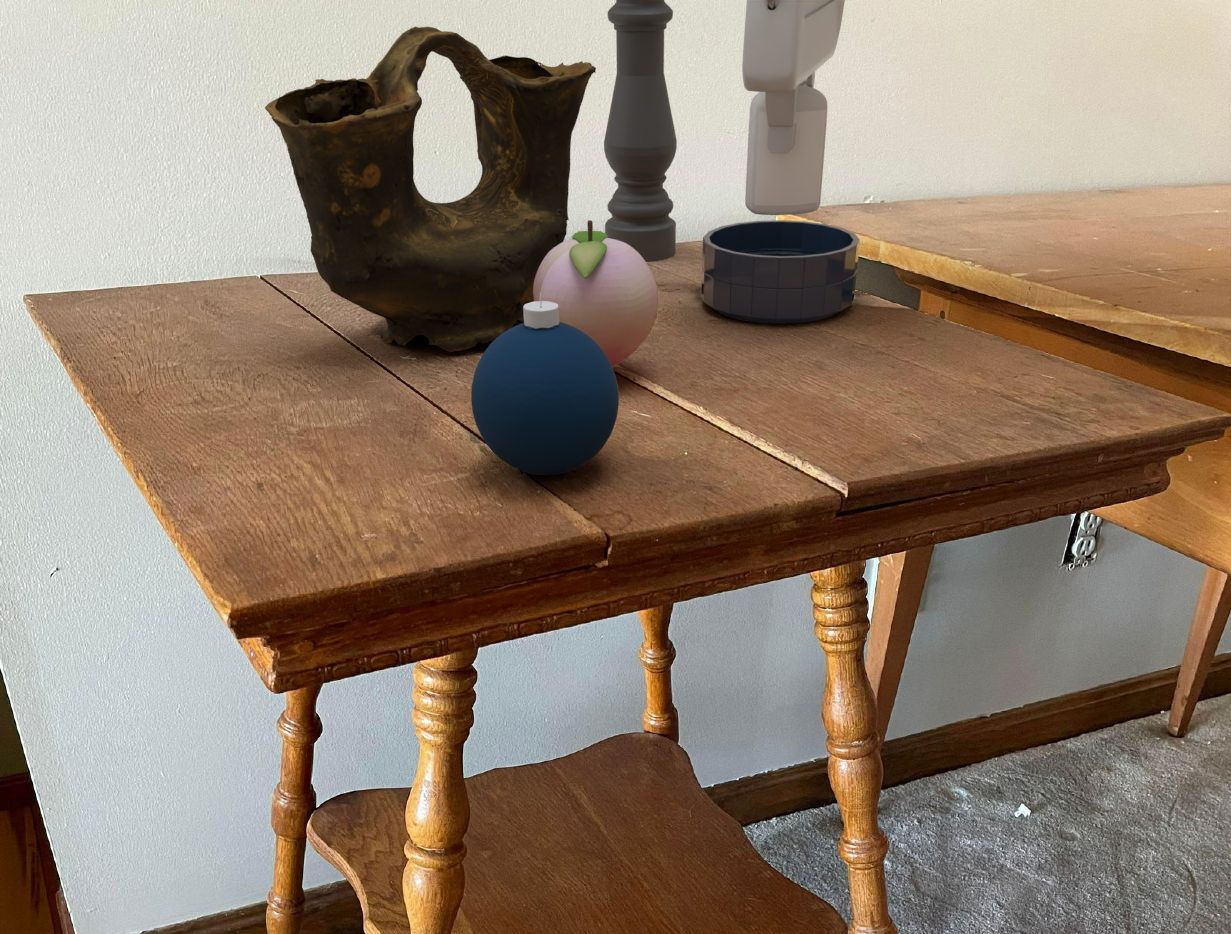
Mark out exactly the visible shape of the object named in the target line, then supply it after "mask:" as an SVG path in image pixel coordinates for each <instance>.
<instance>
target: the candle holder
mask: <svg viewBox="0 0 1231 934" xmlns="http://www.w3.org/2000/svg"><path fill="white" fill-rule="evenodd" d="M673 16H674V10H673V9H672V7H670V6H669V4H667V3H666V1H665V0H615V3H614V5H612V6H611V7H610V8H609V9H608V11H607V20H608V21H609V22H610V23H611V24H613V29H614V30H615V33H616V35H615V37H616V38H615V39H616V41H615V42H616V44H615V45H616V75H615V80H614V87H613V91H612V98H611V103H610V108H609V113H608V118H607V124H606V128H605V133H604V134H605V135H604V139H603V151H604V156H605V159H606V161H607V163H608V166H609V167H610V168H611V170H612V172H614V174H615V176H614V179H613V180H614V182H615V183H616V184H617V188H616V190H615V191H614V193H613V194H612V198H610V200H609V201H608V203H607V211H608V212H609V214H611V217H610V218H609V219H607V220H606V221H605V223H604V233H605V234H606V235H607V236H608V237H607V238H610V239H615V240H618V241H621V242H624V243H626V244H628V245H629V246H631V247H632V248H634V249H635V250H636V251H637V252H638V253H639V254H640V255H641V256H642V258H643V259H644V260H645V261H646V263H649V262H651V263H652V262H659V261H664V260H668V259H670V258H672V257H675V254H676V250H677V249H676V248H677V247H676V246H677V240H676V239H677V221H675V220H674V219H673V218H672V217H670V216H669V214H671V213H672V211H673V209H674V202H673V200H672V199H671V198H670V197H669V193H668V192H667V190H666V189H665V188H664V183H665V182H666V180H667V175H666V173H667V171H668V170H669V168H670V167H671V165H672V163H673V161H674V159H675V157H676V153H677V149H678V147H677V146H678V144H677V143H678V139H677V135H676V129H675V124H674V119H673V114H672V109H671V104H670V97H669V92H668V88H667V82H666V76H665V30H666V29H667V26H668V25H667V24H668V23H669V22H671V21H672V20H673Z"/></svg>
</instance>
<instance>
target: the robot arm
mask: <svg viewBox="0 0 1231 934" xmlns="http://www.w3.org/2000/svg"><path fill="white" fill-rule="evenodd" d="M845 2H846V0H746V8H745V17H744V19H745V20H744V32H743V45H742V46H743V47H742V49H743V50H742V62H741V63H742V64H741V69H742V71H741V72H742V82H743V86H744V89H745V90H746V91H747V92H757V93H759V92H766V94H765V104H766V112H767V120H768V144H767V147H768V150H769V151H770V152H771V153H781V154H786V153H789V152H790V151H791V149H792V148H793V147H794V145H795V134H796V123H795V113H796V99H797V98H798V86H799V85H800V84H801V83H802V82H803V81H804V80H806V79H807V81H805V82H803V83H805V84H806V85H807V86H809V87H812V88H814V87H815V80H816V71H817V70H818V69H819V68H821V67H822V66H823V65H824V64H825V63H826V62H828V61H829V60H830V59H831V58H832V57H833V56H834V54H835V52H836V48H837V45H838V42H839V36H840V31H841V26H842V20H843V14H844V10H845V9H844V8H845Z"/></svg>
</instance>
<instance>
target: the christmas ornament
mask: <svg viewBox="0 0 1231 934" xmlns="http://www.w3.org/2000/svg"><path fill="white" fill-rule="evenodd" d="M523 312H524V318H523V323H519V324H516V325H515V326H514V325H513V326H512V327H511V328H510V329H509V330H507V331H505V332H504V333H503V334H501V335H500V336H499V337H497V338H496V339H495V340H494V341H491V343H490V344H489V346H488V347H487V348H486V349H485V351H484V352H483V353H482V355H481V357H480V359H479V361H478V363H477V366H476V368H475V371H474V373H473V378H472V381H471V382H472V383H471V389H470V391H471V393H470V394H471V395H470V398H471V399H470V400H471V409H472V410H471V411H472V415H473V418H474V422H475V425H476V428H477V430H478V433H479V434H480V436H481V438H482V439H483V441H484V443H485V444H486V445H487V447H488V448H489V449H490V450H491V451H492V453H493V454H495V456H497V458H498V459H500V460H501V461H502V462H504V463H505V464H507V465H508V466H510V467H512V468H514V469H516V470H517V471H520V472H524V473H526V474H531V475H535V476H536V475H537V476H557V475H561V474H566V473H569V472H572V471H574V470H576V469H579V468H581V467H582V466H584V465H585V464H587V463H588V462H590V461H591V460H592V459H593V458H594V457H595V456H597V455H598V454H599V452H601V450H602V449H603V447H604V446H605V445H606V443H607V442H608V440H609V438H610V436H611V435H612V432H613V430H614V427H615V425H616V421H617V418H618V412H619V405H620V404H619V402H620V401H619V400H620V396H619V395H620V394H619V385H618V381H617V377H616V374H615V370H614V368H613V367H612V366H611V363H610V361H609V359H608V358H607V356H606V355H605V353H604V352H603V350H602V349H601V348H600V346H599V345H598V344H597V343H596V342H595V341H594V340H593V339H592V338H591V337H589V336H588V335H587V334H585V333H584V332H582V331H581V330H579V329H577V328H575V327H573V326H571V325H568V324H565V323H562V322H559V306H558V304H557V303H554V302H549V301H541V293H540V301H535V302H530V303H527V304H525V305H524V306H523Z"/></svg>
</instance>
